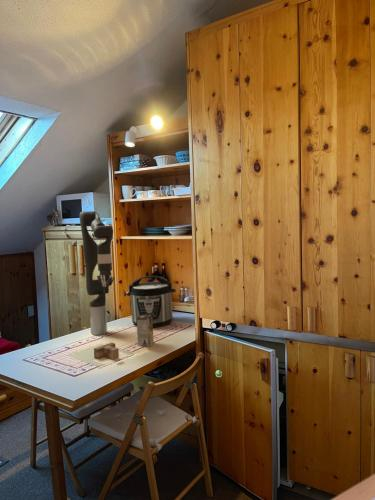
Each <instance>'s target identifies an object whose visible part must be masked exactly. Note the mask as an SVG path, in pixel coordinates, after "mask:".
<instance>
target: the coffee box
mask: <svg viewBox="0 0 375 500" xmlns="http://www.w3.org/2000/svg"><path fill="white" fill-rule="evenodd" d="M136 331H137V333H136V334H137V346H138V347H144V348H147V349H149V348H150V347H151V346H152V345H153V344H154V343H155V341H154V327H153V319H152V315H141V316H139V317H138V318H137V326H136Z"/></svg>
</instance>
